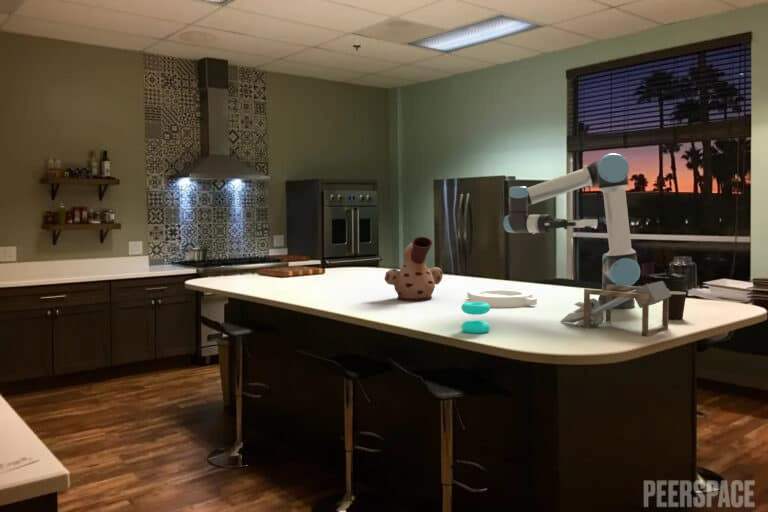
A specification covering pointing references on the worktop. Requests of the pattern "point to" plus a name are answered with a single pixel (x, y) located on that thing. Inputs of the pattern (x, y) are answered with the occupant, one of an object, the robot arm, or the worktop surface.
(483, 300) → the white ring
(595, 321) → the crystal
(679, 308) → the coffee mug
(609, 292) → the stand
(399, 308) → the worktop surface
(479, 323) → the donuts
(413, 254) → the vessel
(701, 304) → the worktop surface
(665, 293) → the trapdoor
